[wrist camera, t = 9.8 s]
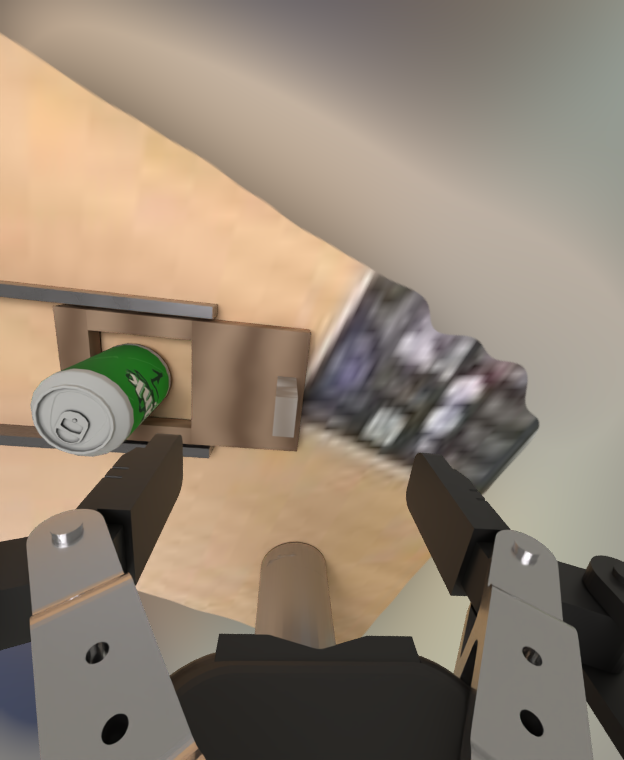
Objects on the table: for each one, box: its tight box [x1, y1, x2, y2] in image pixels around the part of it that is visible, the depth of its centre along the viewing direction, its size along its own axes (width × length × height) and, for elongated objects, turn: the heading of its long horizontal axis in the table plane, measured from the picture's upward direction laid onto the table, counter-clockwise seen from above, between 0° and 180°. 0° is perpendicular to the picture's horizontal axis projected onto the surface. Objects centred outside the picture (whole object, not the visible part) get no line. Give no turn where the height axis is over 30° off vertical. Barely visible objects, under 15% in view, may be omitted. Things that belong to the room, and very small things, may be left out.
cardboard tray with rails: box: [53, 304, 311, 451], centre depth 33 cm, size 25×14×8 cm, turn 84°
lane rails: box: [0, 280, 217, 458], centre depth 35 cm, size 34×17×2 cm, turn 84°
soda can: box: [31, 343, 171, 457], centre depth 31 cm, size 8×8×12 cm
